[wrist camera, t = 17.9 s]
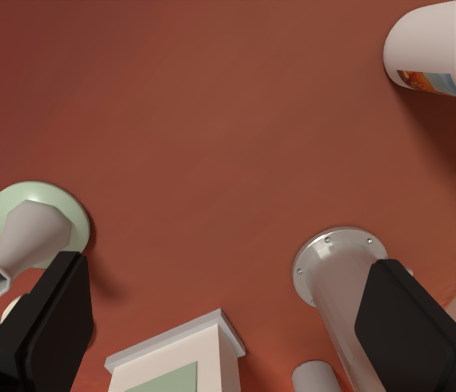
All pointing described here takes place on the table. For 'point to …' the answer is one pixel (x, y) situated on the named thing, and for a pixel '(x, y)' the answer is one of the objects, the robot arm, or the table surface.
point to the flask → (30, 239)
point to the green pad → (53, 196)
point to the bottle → (315, 377)
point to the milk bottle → (424, 50)
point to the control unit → (181, 359)
